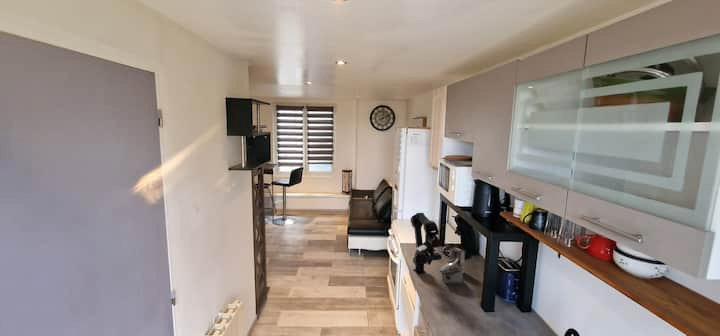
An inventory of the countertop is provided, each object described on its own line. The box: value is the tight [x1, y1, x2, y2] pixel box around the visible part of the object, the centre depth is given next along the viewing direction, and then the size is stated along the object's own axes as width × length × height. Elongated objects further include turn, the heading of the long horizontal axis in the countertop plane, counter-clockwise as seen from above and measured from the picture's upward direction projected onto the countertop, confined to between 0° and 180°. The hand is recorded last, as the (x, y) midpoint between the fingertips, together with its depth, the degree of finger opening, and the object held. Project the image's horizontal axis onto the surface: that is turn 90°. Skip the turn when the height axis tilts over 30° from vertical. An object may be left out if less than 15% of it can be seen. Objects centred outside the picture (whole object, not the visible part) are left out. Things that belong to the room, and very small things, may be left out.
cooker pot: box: [439, 267, 464, 288], centre depth 193 cm, size 14×17×6 cm
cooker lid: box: [439, 257, 458, 271], centre depth 193 cm, size 14×14×2 cm
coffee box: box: [448, 246, 466, 274], centre depth 205 cm, size 9×6×16 cm
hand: (428, 264), depth 188 cm, fingers closed
